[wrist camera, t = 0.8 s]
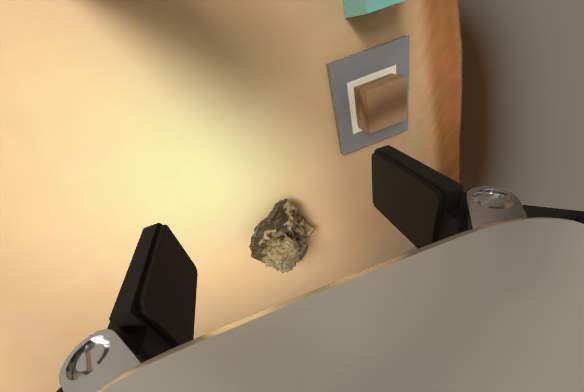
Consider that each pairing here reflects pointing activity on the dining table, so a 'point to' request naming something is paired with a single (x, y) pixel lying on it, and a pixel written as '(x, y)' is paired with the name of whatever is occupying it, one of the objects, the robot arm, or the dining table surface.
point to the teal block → (365, 6)
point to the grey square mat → (359, 72)
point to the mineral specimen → (281, 237)
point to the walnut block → (381, 102)
